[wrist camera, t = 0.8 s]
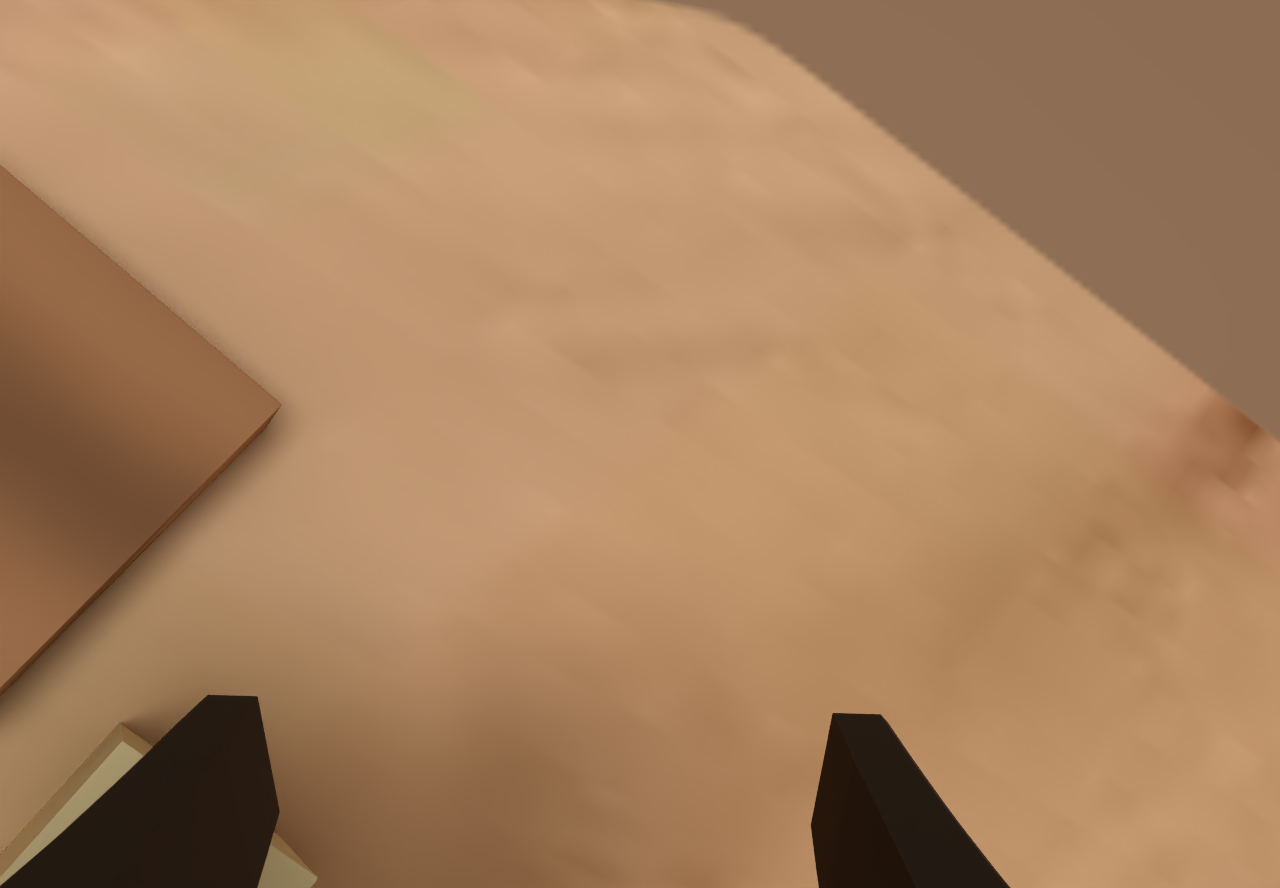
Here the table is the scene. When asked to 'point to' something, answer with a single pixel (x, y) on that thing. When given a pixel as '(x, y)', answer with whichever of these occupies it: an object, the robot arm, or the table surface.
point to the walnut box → (95, 422)
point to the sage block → (119, 752)
